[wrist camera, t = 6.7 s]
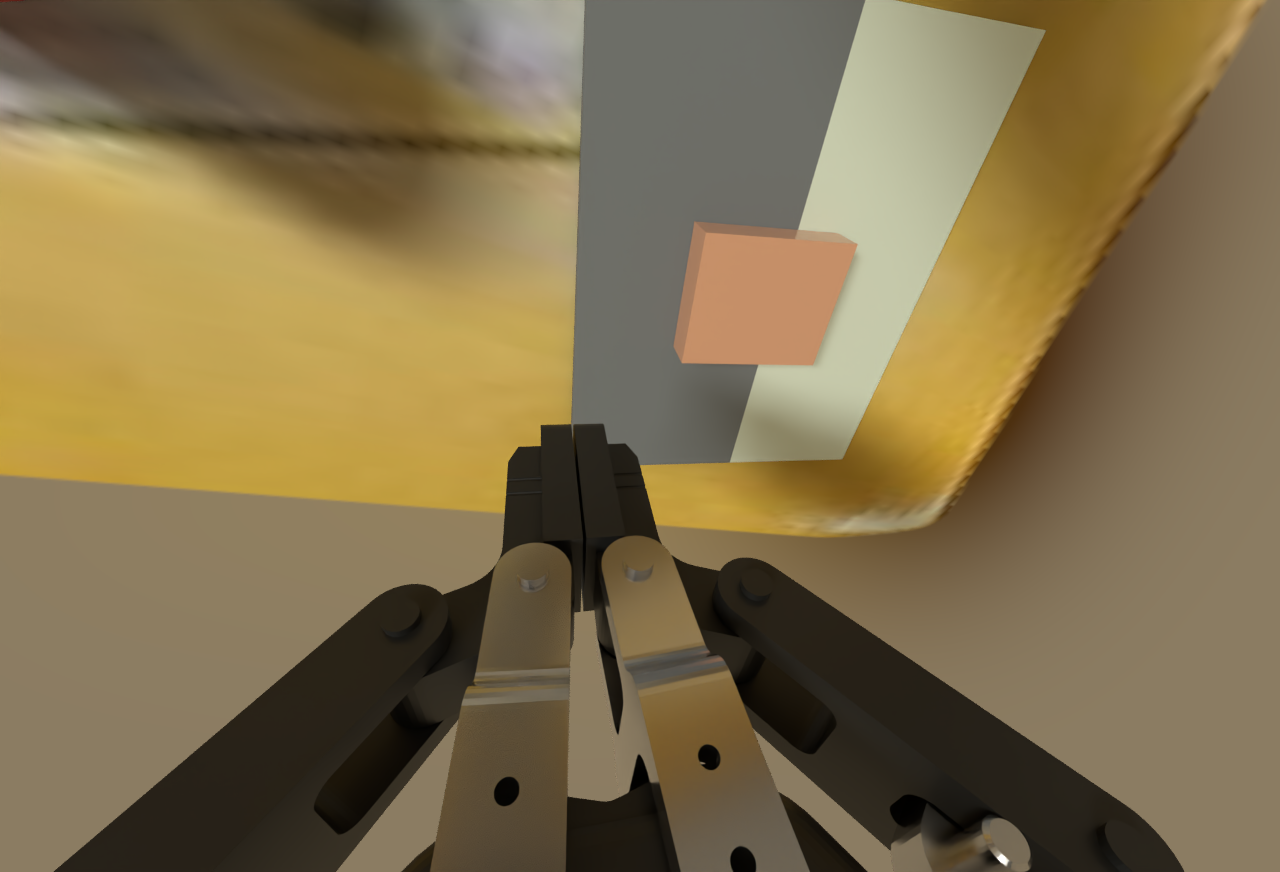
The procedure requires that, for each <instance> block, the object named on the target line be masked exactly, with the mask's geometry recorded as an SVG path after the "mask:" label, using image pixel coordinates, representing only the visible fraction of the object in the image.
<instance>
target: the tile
mask: <svg viewBox="0 0 1280 872" xmlns="http://www.w3.org/2000/svg"><path fill="white" fill-rule="evenodd" d="M857 245H858V244H857V243H855V242H853V241H851V240H849V239H848V238H846V237H844V236H842V235H840V234H838V233H831V232H819V231H806V230H794V229H782V228H770V227H757V226H745V225H733V224H720V223H708V222H696V221H694V227H693V233H692V239H691V245H690V251H689V257H688V262H687V268H686V274H685V280H684V286H683V292H682V298H681V304H680V310H679V316H678V322H677V328H676V333H675V339H674V345H673V346H674V349H675V351H676V353H677V355H678V357H679V359H680V361H681V363H699V364H757V365H813V364H814V361H815V359H816V356H817V353H818V350H819V348H820V345H821V342H822V340H823V337H824V334H825V332H826V329H827V326H828V324H829V321H830V318H831V315H832V313H833V310H834V307H835V305H836V302H837V299H838V297H839V294H840V291H841V288H842V286H843V283H844V280H845V278H846V275H847V272H848V270H849V267H850V264H851V261H852V259H853V256H854V253H855V251H856V248H857Z"/></svg>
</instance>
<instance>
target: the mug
mask: <svg viewBox="0 0 1280 872" xmlns="http://www.w3.org/2000/svg"><path fill="white" fill-rule="evenodd" d="M10 1H23V0H0V2H10Z"/></svg>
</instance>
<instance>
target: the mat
mask: <svg viewBox="0 0 1280 872" xmlns="http://www.w3.org/2000/svg"><path fill="white" fill-rule="evenodd" d="M1045 31H1046V30H1042V29H1037V28H1032V27H1027V26H1022V25H1017V24H1012V23H1007V22H1001V21H996V20H991V19H986V18H981V17H976V16H971V15H966V14H961V13H956V12H951V11H946V10H941V9H936V8H931V7H926V6H921V5H916V4H911V3H906V2H901V1H896V0H585V15H584V46H583V77H582V108H581V139H580V170H579V201H578V233H577V264H576V295H575V326H574V357H573V388H572V419H571V427H572V436H573V424H600V423H603V424H604V427H605V432H606V438H607V443H608V444H620V443H626V444H627V446H628V447H629V448H630V449H631V450H632V451H633V452H634V453H635V454H636V456H637V457H638V460H639V464H640V465H656V464H692V463H728V462H764V461H800V460H836V459H843V457H844V455H845V452H846V450H847V448H848V446H849V444H850V442H851V440H852V438H853V436H854V433H855V431H856V429H857V427H858V425H859V423H860V421H861V419H862V417H863V415H864V412H865V410H866V408H867V406H868V404H869V402H870V400H871V398H872V396H873V393H874V391H875V389H876V387H877V385H878V383H879V381H880V379H881V377H882V375H883V372H884V370H885V368H886V366H887V364H888V362H889V360H890V358H891V356H892V353H893V351H894V349H895V347H896V345H897V343H898V341H899V339H900V337H901V335H902V332H903V330H904V328H905V326H906V324H907V322H908V320H909V318H910V316H911V313H912V311H913V309H914V307H915V305H916V303H917V301H918V299H919V297H920V295H921V292H922V290H923V288H924V286H925V284H926V282H927V280H928V278H929V276H930V273H931V271H932V269H933V267H934V265H935V263H936V261H937V259H938V257H939V255H940V252H941V250H942V248H943V246H944V244H945V242H946V240H947V238H948V236H949V233H950V231H951V229H952V227H953V225H954V223H955V221H956V219H957V217H958V215H959V212H960V210H961V208H962V206H963V204H964V202H965V200H966V198H967V196H968V194H969V191H970V189H971V187H972V185H973V183H974V181H975V179H976V177H977V175H978V172H979V170H980V168H981V166H982V164H983V162H984V160H985V158H986V156H987V154H988V151H989V149H990V147H991V145H992V143H993V141H994V139H995V137H996V135H997V132H998V130H999V128H1000V126H1001V124H1002V122H1003V120H1004V118H1005V116H1006V114H1007V111H1008V109H1009V107H1010V105H1011V103H1012V101H1013V99H1014V97H1015V95H1016V92H1017V90H1018V88H1019V86H1020V84H1021V82H1022V80H1023V78H1024V76H1025V74H1026V71H1027V69H1028V67H1029V65H1030V63H1031V61H1032V59H1033V57H1034V55H1035V52H1036V50H1037V48H1038V46H1039V44H1040V42H1041V40H1042V38H1043V36H1044V34H1045ZM694 221H696V222H708V223H720V224H733V225H745V226H757V227H770V228H782V229H794V230H806V231H819V232H831V233H838V234H840V235H842V236H844V237H846V238H848V239H849V240H851V241H853V242H855V243H857V244H858V245H857V248H856V251H855V253H854V256H853V259H852V261H851V264H850V267H849V270H848V272H847V275H846V278H845V280H844V283H843V286H842V288H841V291H840V294H839V297H838V299H837V302H836V305H835V307H834V310H833V313H832V315H831V318H830V321H829V324H828V326H827V329H826V332H825V334H824V337H823V340H822V342H821V345H820V348H819V350H818V353H817V356H816V359H815V361H814V364H813V365H757V364H699V363H681V361H680V359H679V357H678V355H677V353H676V351H675V349H674V346H673V345H674V339H675V333H676V328H677V322H678V316H679V310H680V304H681V298H682V292H683V286H684V280H685V274H686V268H687V262H688V257H689V251H690V245H691V239H692V233H693V227H694Z"/></svg>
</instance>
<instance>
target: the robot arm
mask: <svg viewBox="0 0 1280 872" xmlns="http://www.w3.org/2000/svg"><path fill="white" fill-rule="evenodd" d="M581 589H582V598H583V610H584V611H591V610H595V619H596V628H597V632H596V650H597V656H598V661H599V666H600V672H601V677H602V683H603V688H604V693H605V698H606V704H607V709H608V715H609V720H610V726H611V730H612V736H613V744H614V754H615V769H616V777H617V785H618V791H619V798H617V799H615V800H612V801H608V802H601V801H594V800H587V799H579V798H573V797H568V752H569V751H568V750H569V697H570V695H569V694H570V650H571V648H572V645H573V640H574V612H580V608H581ZM458 719H459V720H458ZM457 720H458V725H457V731H456V736H455V741H454V747H453V752H452V758H451V763H450V768H449V773H448V779H447V784H446V789H445V795H444V800H443V805H442V810H441V816H440V821H439V827H438V832H437V837H436V841H435V842H434V843H433V844H432V845H430V846H429V847H428V848H427V849H426V850H424V851H423V852H422V853H420V854H419V855H418V856H417V857H416V858H415V859H414V860H413V861H412V862H411V863H410V864H409V865H408V866H407V867H406V868H405V869H404V870H403V871H402V872H867V871H866V870H865V869H864V868H863V867H862V866H861V865H860V864H859V863H858V862H857V861H856V860H855V859H854V858H853V857H852V856H851V855H850V854H849V853H848V852H847V851H846V850H845V849H844V848H843V847H842V846H841V845H840V844H839V843H838V842H837V841H836V840H835V839H834V838H833V837H832V836H831V835H830V834H829V833H828V832H827V831H825V829H824V828H823V827H822V826H821V825H820V824H819V823H818V822H817V821H815V820H814V819H813V818H812V817H811V816H810V815H809V814H808V813H807V812H806V811H805V810H804V809H802V808H801V807H799V806H798V805H797V804H796V803H795V802H793V801H792V800H790V799H789V798H788V797H786V796H784V795H783V794H781V793H779V792H778V790H777V788H776V786H775V783H774V780H773V778H772V776H771V773H770V771H769V768H768V765H767V763H766V760H765V758H764V755H763V753H762V750H761V748H760V745H759V743H758V740H757V738H756V735H755V733H754V730H755V731H756V732H758V733H759V734H760V735H761V736H762V737H763V738H764V739H765V740H767V741H768V742H769V743H770V744H771V745H772V746H773V747H774V748H776V749H777V750H778V751H779V752H780V753H781V754H782V755H783V756H784V757H786V758H787V759H788V760H789V761H790V762H791V763H792V764H793V765H795V766H796V767H797V768H798V769H799V770H800V771H801V772H802V773H804V774H805V775H806V776H807V777H808V778H809V779H811V781H813V782H814V783H815V784H816V785H817V786H818V787H819V788H821V789H822V790H823V791H824V792H825V793H826V794H827V795H828V796H829V797H831V798H832V799H833V800H834V801H835V802H836V803H837V804H838V805H840V806H841V807H842V808H843V809H844V810H845V811H846V812H847V813H849V814H850V815H851V816H852V817H853V818H854V819H856V820H857V821H858V822H859V823H860V824H861V825H862V826H863V827H864V828H866V829H867V830H868V831H869V832H870V833H871V834H872V835H873V836H874V837H876V838H877V839H878V840H879V841H880V842H881V843H882V844H883V845H885V846H886V847H887V848H888V849H889V850H890V851H891V861H892V866H893V871H894V872H1184V870H1183V868H1182V866H1181V865H1180V863H1179V861H1178V860H1177V858H1176V857H1175V855H1174V853H1173V852H1172V851H1171V849H1170V848H1169V847H1168V845H1167V844H1166V843H1165V842H1164V840H1163V839H1162V838H1161V837H1160V836H1159V835H1158V834H1157V832H1156V831H1155V830H1154V829H1153V828H1152V827H1151V826H1150V825H1149V824H1148V823H1147V822H1146V821H1145V820H1143V819H1142V818H1141V817H1140V816H1139V815H1138V814H1137V813H1135V812H1134V811H1133V810H1131V809H1130V808H1129V807H1127V806H1126V805H1125V804H1123V803H1121V802H1120V801H1119V800H1117V799H1116V798H1114V797H1112V796H1111V795H1110V794H1108V793H1107V792H1105V791H1104V790H1102V789H1101V788H1100V787H1098V786H1097V785H1095V784H1094V783H1092V782H1090V781H1089V780H1088V779H1086V778H1085V777H1083V776H1082V775H1080V774H1079V773H1077V772H1076V771H1074V770H1073V769H1071V768H1070V767H1069V766H1067V765H1066V764H1064V763H1063V762H1061V761H1060V760H1058V759H1057V758H1055V757H1054V756H1052V755H1051V754H1049V753H1047V752H1046V751H1045V750H1043V749H1042V748H1040V747H1039V746H1038V745H1036V744H1035V743H1033V742H1032V741H1030V740H1029V739H1027V738H1026V737H1024V736H1023V735H1021V734H1020V733H1018V732H1017V731H1015V730H1014V729H1012V728H1011V727H1009V726H1008V725H1007V724H1005V723H1003V722H1002V721H1001V720H999V719H998V718H996V717H995V716H993V715H992V714H990V713H989V712H987V711H986V710H984V709H983V708H981V707H980V706H978V705H977V704H975V703H974V702H973V701H971V700H970V699H968V698H967V697H965V696H964V695H962V694H961V693H959V692H958V691H956V690H955V689H953V688H952V687H950V686H949V685H947V684H946V683H944V682H943V681H941V680H940V679H939V678H937V677H935V676H934V675H933V674H931V673H930V672H928V671H927V670H925V669H923V668H922V667H921V666H919V665H918V664H916V663H915V662H913V661H912V660H911V659H909V658H908V657H906V656H905V655H903V654H902V653H900V652H899V651H897V650H896V649H894V648H893V647H891V646H890V645H888V644H887V643H885V642H884V641H882V640H881V639H880V638H878V637H877V636H875V635H873V634H872V633H871V632H869V631H868V630H866V629H865V628H863V627H862V626H860V625H859V624H857V623H856V622H854V621H853V620H851V619H850V618H848V617H847V616H845V615H844V614H843V613H841V612H839V611H838V610H837V609H835V608H834V607H832V606H831V605H829V604H828V603H826V602H825V601H823V600H822V599H820V598H819V597H817V596H816V595H814V594H813V593H812V592H810V591H808V590H807V589H806V588H804V587H802V586H801V585H800V584H798V583H797V582H795V581H794V580H792V579H791V578H789V577H788V576H786V575H785V574H783V573H782V572H781V571H779V570H778V569H776V568H775V567H773V566H771V565H770V564H768V563H766V562H764V561H761V560H758V559H753V558H738V559H734V560H732V561H730V562H728V563H727V564H725V565H724V566H723V568H722V569H721V571H717V570H712V569H707V568H703V567H698V566H693V565H690V564H687V563H684V562H682V561H680V560H678V559H677V558H675V557H674V556H672V555H671V554H670V552H669V551H668V550H667V549H666V548H665V546H664V545H662V543H661V542H660V539H659V536H658V533H657V529H656V525H655V521H654V517H653V514H652V510H651V506H650V502H649V498H648V495H647V491H646V489H645V483H644V479H643V476H642V472H641V468H640V464H639V460H638V457H637V456H636V454H635V453H634V452H633V451H632V450H631V449H630V448H629V447H628V446H627V444H626V443H620V444H608V443H607V438H606V432H605V427H604V424H603V423H600V424H573V436H572V427H571V424H564V425H541V446H533V447H518V448H517V450H516V451H515V453H514V454H513V456H512V457H511V459H510V460H509V462H508V474H507V489H506V504H505V519H504V535H503V548H502V553H501V556H500V559H499V561H498V562H497V564H496V565H495V566H494V568H493V569H492V570H491V571H490V572H489V573H488V574H487V575H486V576H484V577H483V578H481V579H480V580H478V581H477V582H475V583H473V584H470V585H468V586H465V587H463V588H460V589H457V590H454V591H452V592H449V593H446V594H444V595H442V594H441V593H440V592H439V591H437V590H436V589H434V588H432V587H430V586H426V585H421V584H409V585H404V586H400V587H396V588H393V589H391V590H389V591H386V592H384V593H383V594H381V595H379V596H378V597H377V598H375V599H374V600H373V601H371V602H370V603H369V604H368V605H367V606H366V607H364V608H363V609H362V610H361V611H360V612H358V613H357V614H356V615H355V616H354V617H353V618H351V619H350V620H349V621H348V622H347V623H345V624H344V625H343V626H342V627H341V628H340V629H339V630H337V631H336V632H335V633H334V634H333V635H331V636H330V637H329V638H328V639H327V640H326V641H324V642H323V643H322V644H321V645H320V646H319V647H318V648H316V649H315V650H314V651H313V652H311V653H310V654H309V655H308V656H307V657H306V658H305V659H303V660H302V661H301V662H300V663H298V664H297V665H296V666H295V667H294V668H293V669H291V670H290V671H289V672H288V673H287V674H285V675H284V676H283V677H282V678H281V679H280V680H278V681H277V682H276V683H275V684H274V685H273V686H271V687H270V688H269V689H268V690H267V691H266V692H264V693H263V694H262V695H261V696H260V697H259V698H257V699H256V700H255V701H254V702H253V703H251V704H250V705H249V706H248V707H247V708H246V709H244V710H243V711H242V712H241V713H240V714H238V715H237V716H236V717H235V718H234V719H233V720H231V721H230V722H229V723H228V724H227V725H226V726H224V727H223V728H222V729H221V730H220V731H218V732H217V733H216V734H215V735H214V736H213V737H211V738H210V739H209V740H208V741H207V742H206V743H204V744H203V745H202V746H201V747H200V748H198V749H197V750H196V751H195V752H194V753H193V754H191V755H190V756H189V757H188V758H187V759H186V760H185V761H183V762H182V763H181V764H180V765H178V766H177V767H176V768H175V769H174V770H173V771H171V772H170V773H169V774H168V775H167V776H166V777H164V778H163V779H162V780H161V781H160V782H158V783H157V784H156V785H155V786H154V787H153V788H151V789H150V790H149V791H148V792H147V793H146V794H144V795H143V796H142V797H141V798H140V799H138V800H137V801H136V802H135V803H134V804H133V805H131V806H130V807H129V808H128V809H127V810H126V811H125V812H123V813H122V814H121V815H120V816H119V817H117V818H116V819H115V820H114V821H113V822H112V823H110V824H109V825H108V826H107V827H106V828H104V829H103V830H102V831H101V832H100V833H98V834H97V835H96V836H95V837H94V838H93V839H91V840H90V841H89V842H88V843H87V844H86V845H84V847H82V848H81V849H80V850H78V851H77V852H76V853H75V854H74V855H73V856H71V857H70V858H69V859H68V860H67V861H66V862H64V863H63V864H62V865H61V866H60V867H58V868H57V869H56V870H55V871H54V872H336V871H337V870H338V868H339V867H340V866H341V865H342V863H343V862H344V861H345V860H346V859H347V857H348V856H349V855H350V854H351V852H352V851H353V850H354V849H355V847H356V846H357V845H358V843H359V842H360V841H361V840H362V839H363V837H364V836H365V835H366V834H367V832H368V831H369V830H370V829H371V827H372V826H373V825H374V824H375V822H376V821H377V820H378V819H379V817H380V816H381V815H382V814H383V812H384V811H385V810H386V808H387V807H388V806H389V805H390V804H391V802H392V801H393V800H394V799H395V797H396V796H397V795H398V794H399V793H400V791H401V790H402V789H403V788H404V786H405V785H406V784H407V783H408V781H409V780H410V779H411V778H412V776H413V775H414V774H415V773H416V771H417V770H418V769H419V768H420V766H421V765H422V764H423V763H424V761H425V760H426V759H427V757H428V756H429V755H430V754H431V753H432V751H433V750H434V749H435V748H436V746H437V745H438V744H439V743H440V741H441V740H442V739H443V738H444V736H445V735H446V734H447V733H448V732H449V730H450V729H451V728H452V727H453V725H454V724H455V723H456V722H457ZM753 729H754V730H753Z"/></svg>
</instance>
